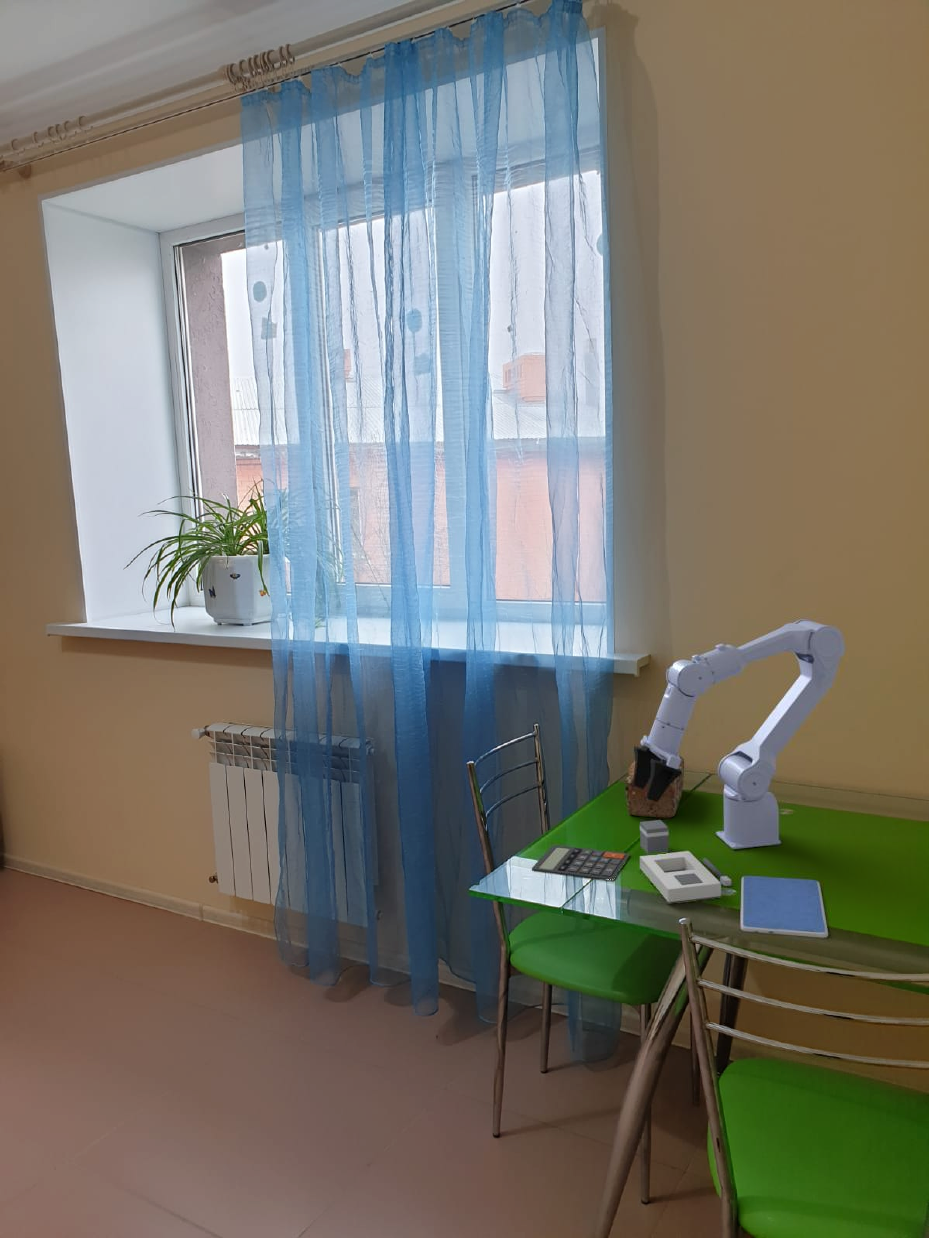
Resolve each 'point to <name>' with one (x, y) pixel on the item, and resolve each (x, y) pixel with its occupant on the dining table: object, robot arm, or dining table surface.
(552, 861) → the calculator
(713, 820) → the dining table surface
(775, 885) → the tablet computer
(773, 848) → the dining table surface
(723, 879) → the cable
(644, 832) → the block
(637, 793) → the bread
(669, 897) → the switch plate
